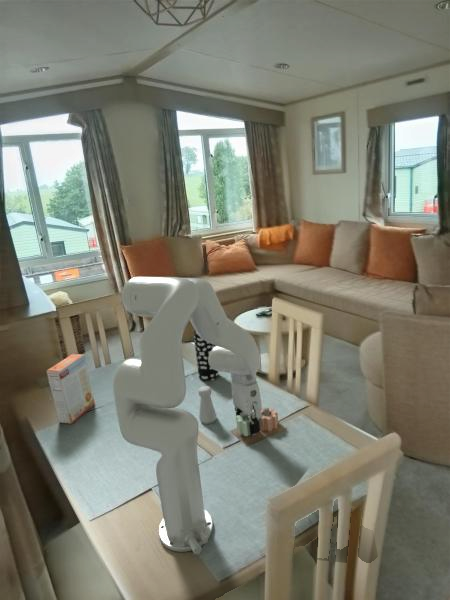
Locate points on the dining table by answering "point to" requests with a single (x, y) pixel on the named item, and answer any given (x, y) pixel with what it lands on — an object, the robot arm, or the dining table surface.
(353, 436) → the dining table surface
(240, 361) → the robot arm
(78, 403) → the cracker box
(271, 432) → the gear board
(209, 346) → the white-spotted black cylinder
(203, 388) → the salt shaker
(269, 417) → the terracotta gear
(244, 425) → the green gear
